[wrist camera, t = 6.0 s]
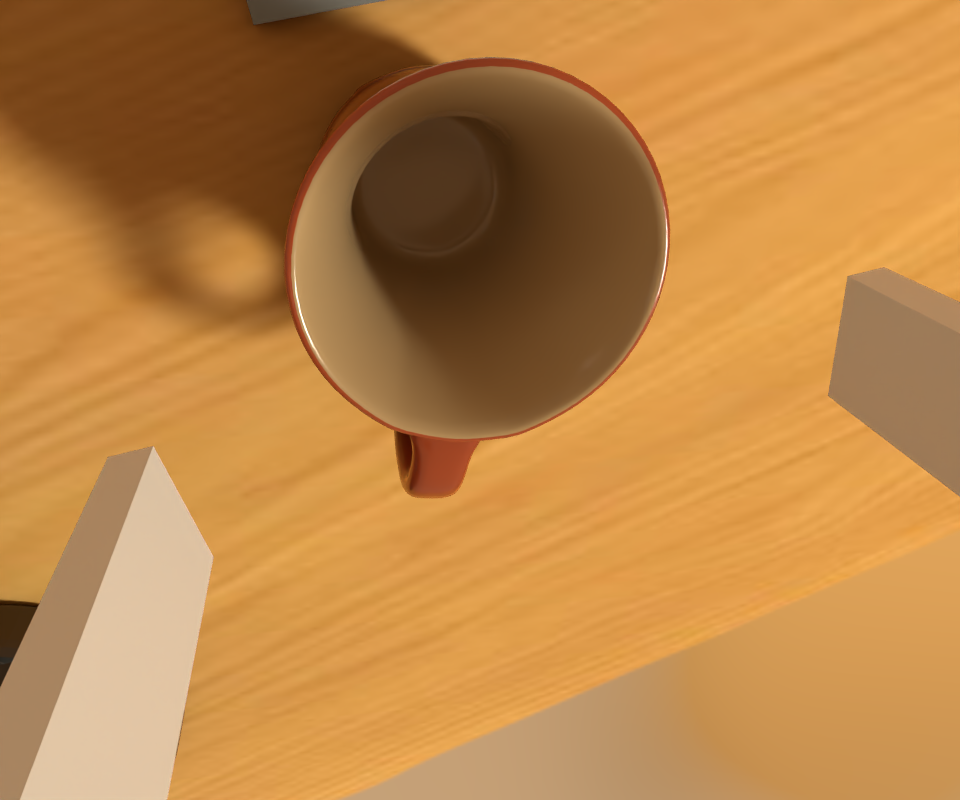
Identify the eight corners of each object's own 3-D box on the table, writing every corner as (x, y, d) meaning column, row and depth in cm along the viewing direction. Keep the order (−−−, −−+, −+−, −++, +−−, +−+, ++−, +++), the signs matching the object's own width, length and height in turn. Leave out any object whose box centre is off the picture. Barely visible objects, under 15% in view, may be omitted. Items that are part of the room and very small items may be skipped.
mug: (302, 9, 20) (296, 9, 11) (566, 68, 22) (728, 105, 14) (283, 360, 25) (269, 540, 17) (495, 376, 28) (577, 539, 19)
